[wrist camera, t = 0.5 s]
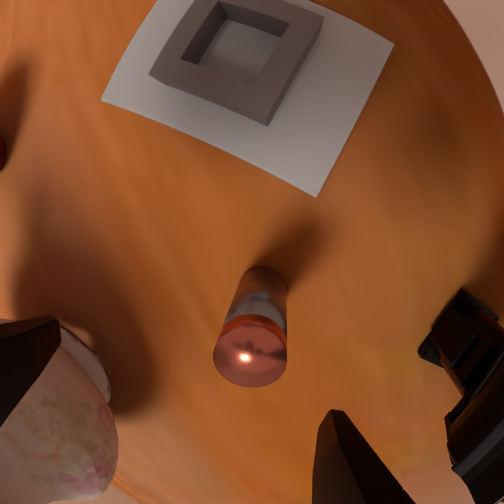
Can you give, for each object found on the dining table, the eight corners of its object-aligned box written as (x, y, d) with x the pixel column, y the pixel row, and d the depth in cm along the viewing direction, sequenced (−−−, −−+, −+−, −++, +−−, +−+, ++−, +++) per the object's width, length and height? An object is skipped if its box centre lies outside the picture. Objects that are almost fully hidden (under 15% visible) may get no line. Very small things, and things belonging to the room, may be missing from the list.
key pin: (294, 279, 19) (301, 349, 11) (271, 317, 20) (264, 396, 12) (251, 258, 19) (231, 317, 11) (231, 296, 20) (202, 368, 12)
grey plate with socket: (389, 49, 14) (408, 29, 11) (314, 196, 17) (321, 202, 14) (185, -25, 13) (171, -48, 10) (107, 102, 17) (79, 94, 14)
